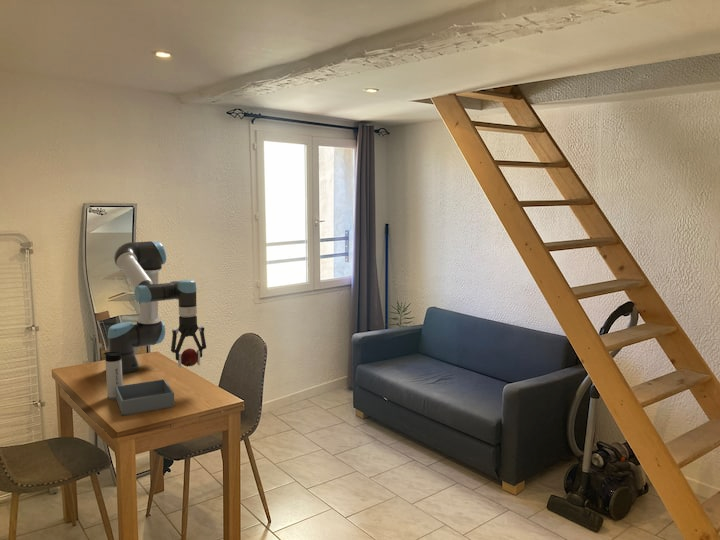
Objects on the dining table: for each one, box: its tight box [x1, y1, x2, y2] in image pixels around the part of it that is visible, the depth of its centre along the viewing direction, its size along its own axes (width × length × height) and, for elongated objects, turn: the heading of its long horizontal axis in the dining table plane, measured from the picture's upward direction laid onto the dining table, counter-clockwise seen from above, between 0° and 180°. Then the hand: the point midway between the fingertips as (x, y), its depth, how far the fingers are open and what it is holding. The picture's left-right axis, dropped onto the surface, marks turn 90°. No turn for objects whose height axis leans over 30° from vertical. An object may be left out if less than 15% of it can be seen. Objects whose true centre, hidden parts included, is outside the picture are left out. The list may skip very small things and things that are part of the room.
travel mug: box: [104, 351, 124, 401], centre depth 238 cm, size 6×7×20 cm
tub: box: [115, 378, 175, 417], centre depth 232 cm, size 20×20×6 cm
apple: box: [181, 347, 198, 368], centre depth 245 cm, size 7×8×8 cm
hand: (189, 365), depth 245 cm, fingers closed on apple, 7 cm apart
